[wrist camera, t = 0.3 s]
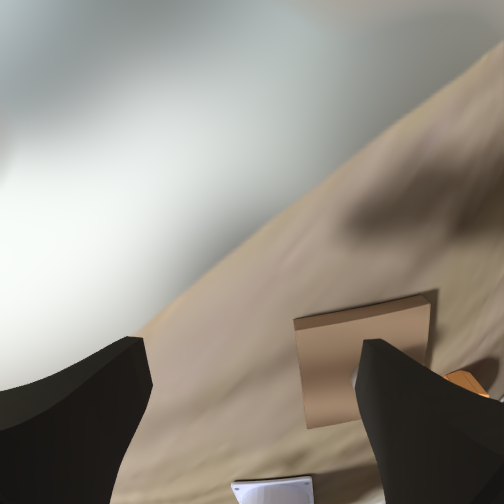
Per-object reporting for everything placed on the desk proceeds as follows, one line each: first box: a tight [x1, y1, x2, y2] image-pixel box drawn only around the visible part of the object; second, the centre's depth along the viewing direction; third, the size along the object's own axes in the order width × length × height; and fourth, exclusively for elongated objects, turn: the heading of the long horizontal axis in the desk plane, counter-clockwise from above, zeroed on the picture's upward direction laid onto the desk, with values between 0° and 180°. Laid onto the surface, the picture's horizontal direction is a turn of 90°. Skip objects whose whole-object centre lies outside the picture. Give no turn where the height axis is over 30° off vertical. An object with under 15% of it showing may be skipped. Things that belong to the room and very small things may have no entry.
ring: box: [443, 370, 489, 398], centre depth 20 cm, size 6×6×4 cm
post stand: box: [293, 295, 431, 429], centre depth 17 cm, size 9×9×6 cm
